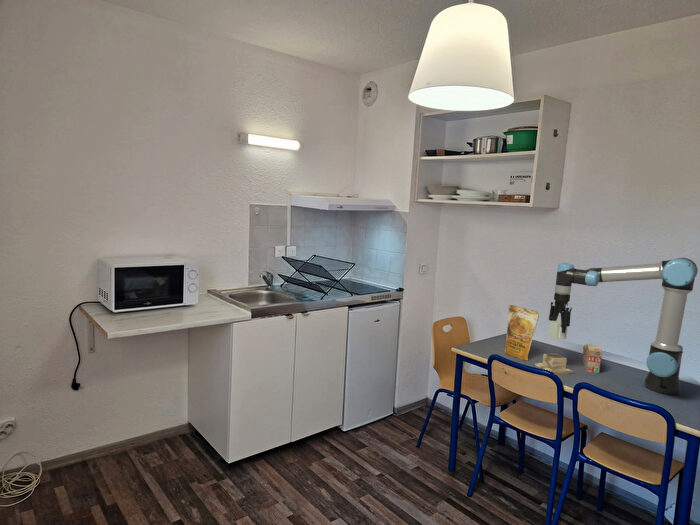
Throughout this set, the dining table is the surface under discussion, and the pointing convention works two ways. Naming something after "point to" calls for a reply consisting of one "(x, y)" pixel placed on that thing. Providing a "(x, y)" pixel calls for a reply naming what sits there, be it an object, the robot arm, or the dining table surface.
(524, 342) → the pancake mix bag
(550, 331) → the sage block
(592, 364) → the printed food box
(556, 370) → the tower base
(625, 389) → the dining table surface
